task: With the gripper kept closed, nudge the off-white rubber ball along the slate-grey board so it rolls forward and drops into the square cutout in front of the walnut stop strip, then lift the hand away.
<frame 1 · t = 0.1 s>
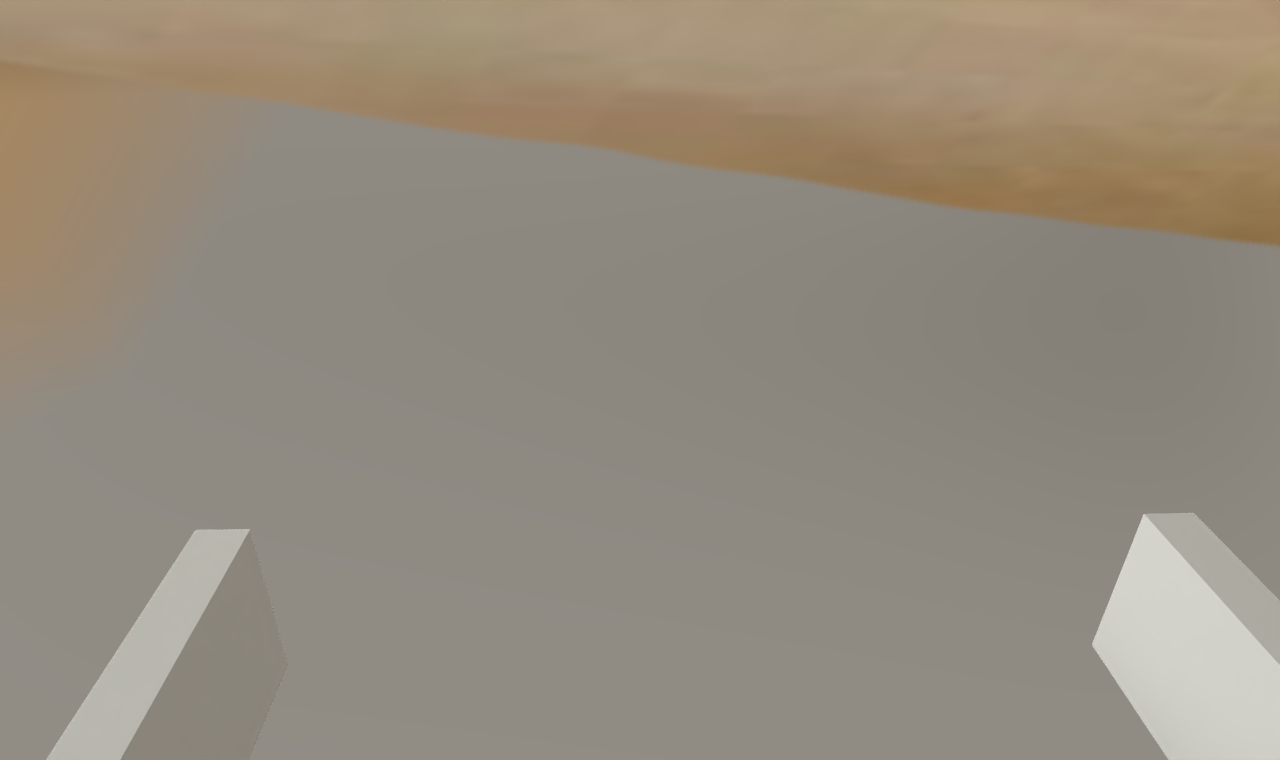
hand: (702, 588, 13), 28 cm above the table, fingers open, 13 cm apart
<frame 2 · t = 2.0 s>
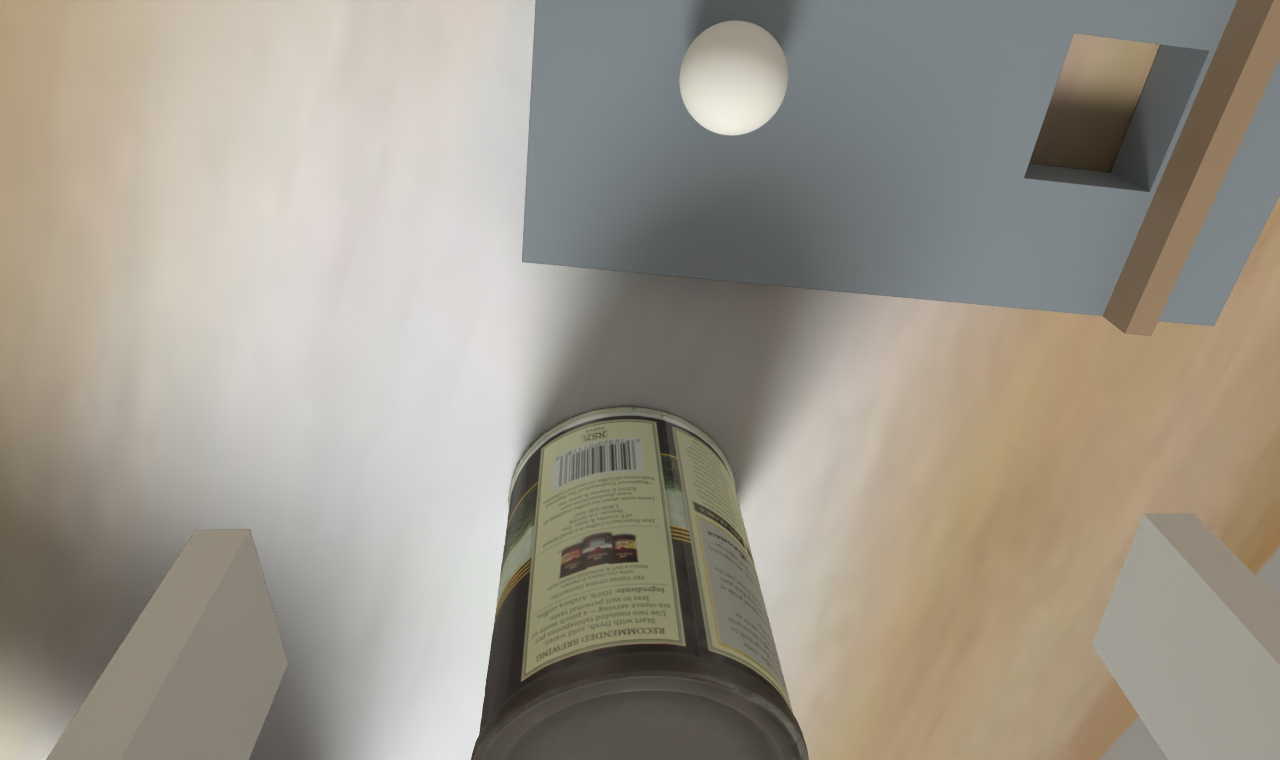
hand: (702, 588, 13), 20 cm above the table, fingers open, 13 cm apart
deck: (913, 82, 29), on the table
ball: (733, 79, 25), point 4 cm above the table, touching deck
coffee can: (624, 499, 37), on the table
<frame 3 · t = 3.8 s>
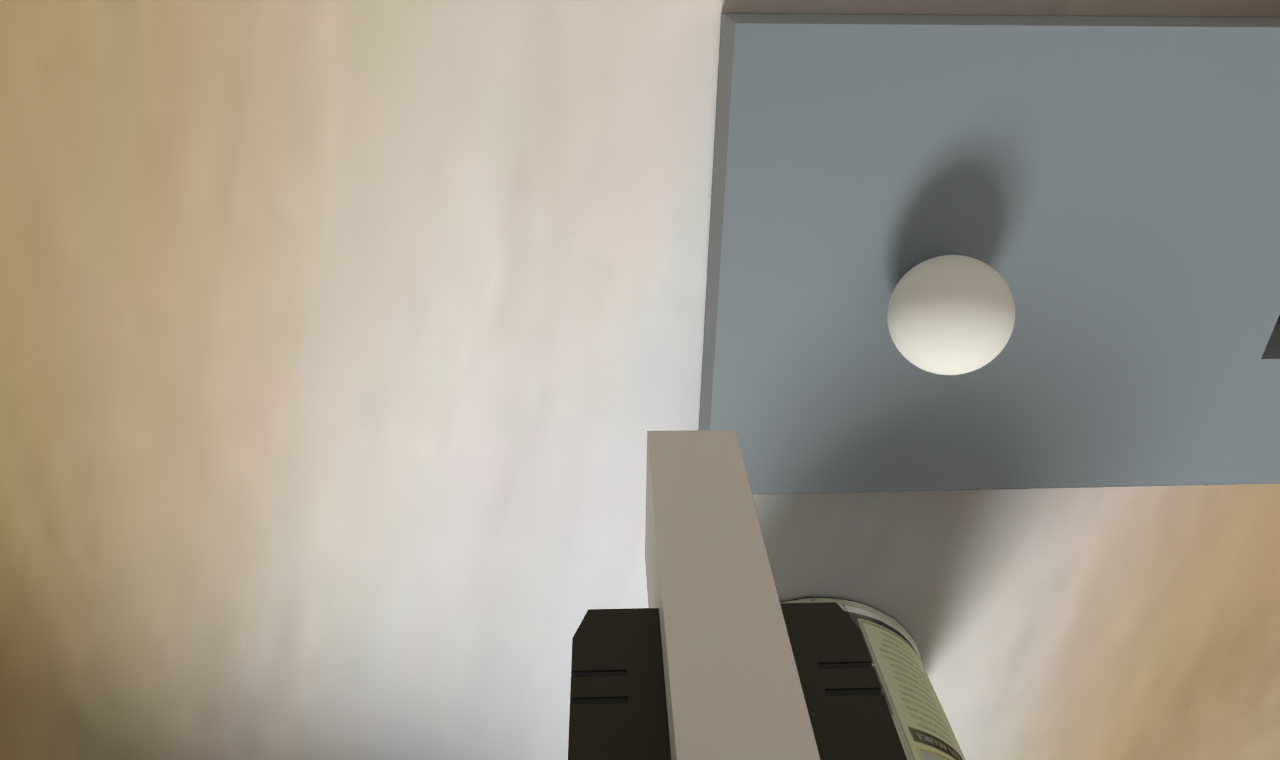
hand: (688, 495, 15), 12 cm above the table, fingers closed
deck: (1119, 258, 26), on the table
ball: (949, 315, 22), point 4 cm above the table, touching deck
coffee can: (801, 682, 35), on the table
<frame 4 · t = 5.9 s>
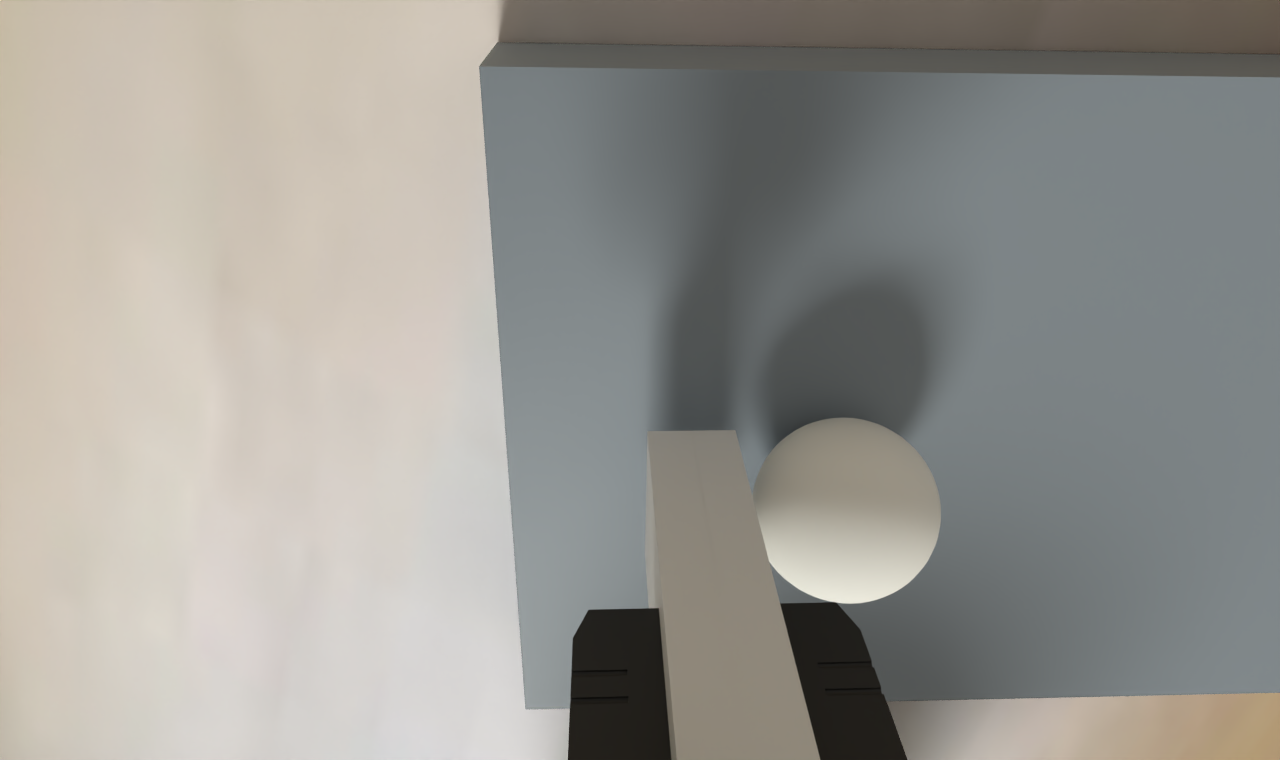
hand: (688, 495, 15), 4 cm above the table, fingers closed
deck: (1108, 389, 18), on the table
ball: (843, 508, 14), point 4 cm above the table, touching deck
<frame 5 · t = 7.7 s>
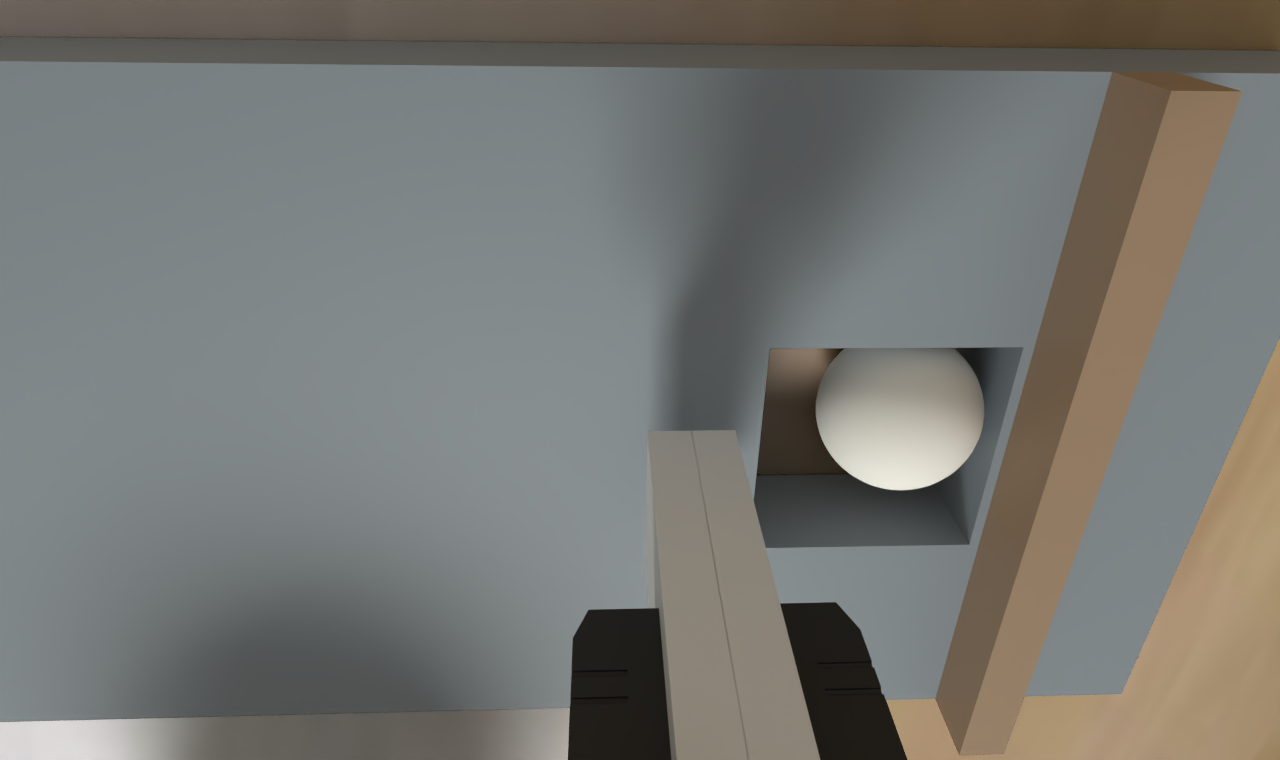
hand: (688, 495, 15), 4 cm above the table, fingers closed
deck: (568, 391, 18), on the table
ball: (897, 409, 17), point 2 cm above the table, tilted 156°
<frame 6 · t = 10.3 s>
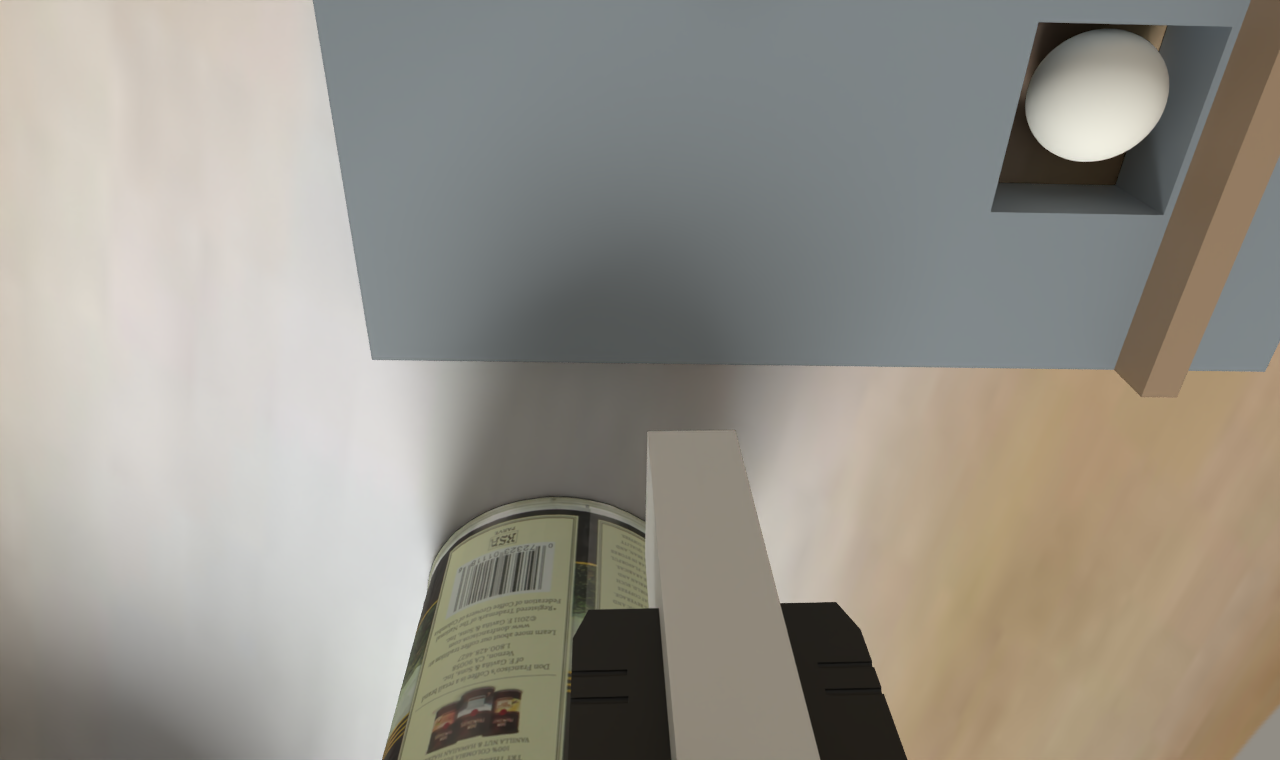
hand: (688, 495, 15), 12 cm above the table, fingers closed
deck: (841, 96, 22), on the table
ball: (1094, 96, 21), point 2 cm above the table, tilted 136°
coffee can: (563, 593, 32), on the table
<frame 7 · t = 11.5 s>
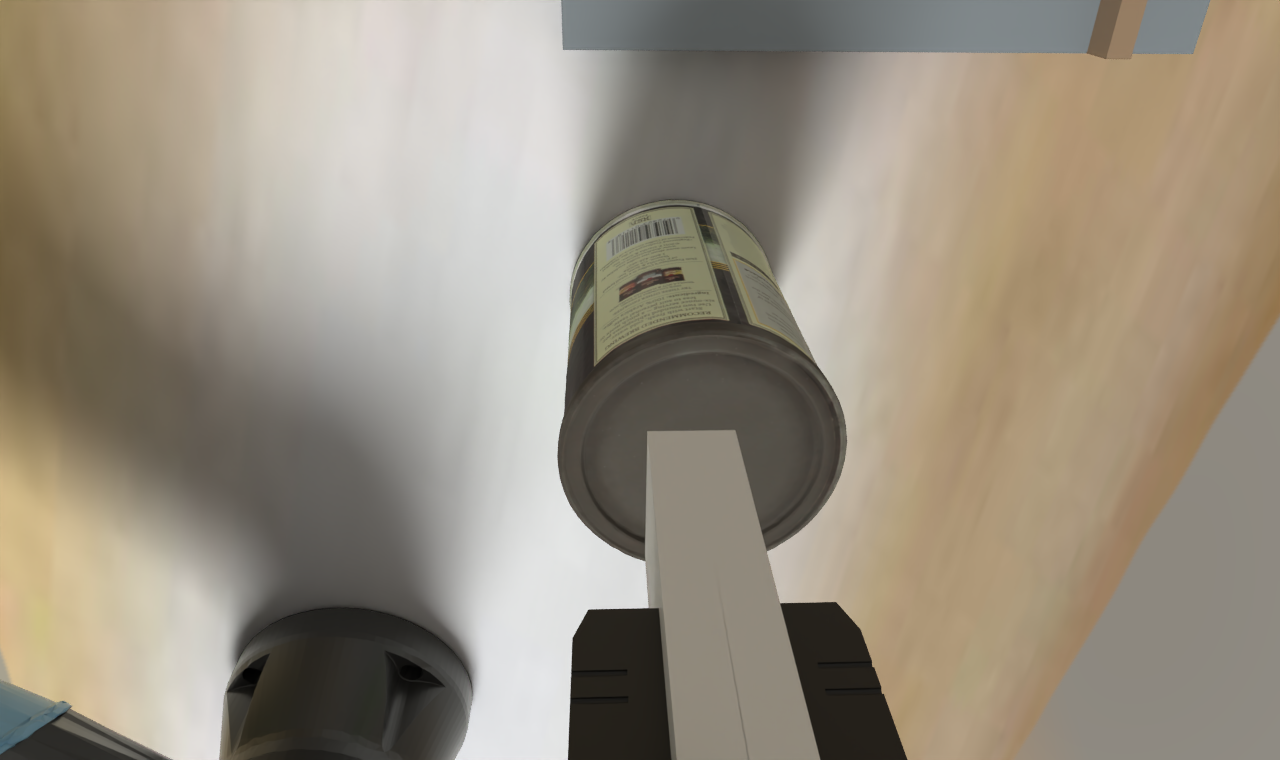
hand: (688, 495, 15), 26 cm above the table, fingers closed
coffee can: (672, 296, 42), on the table
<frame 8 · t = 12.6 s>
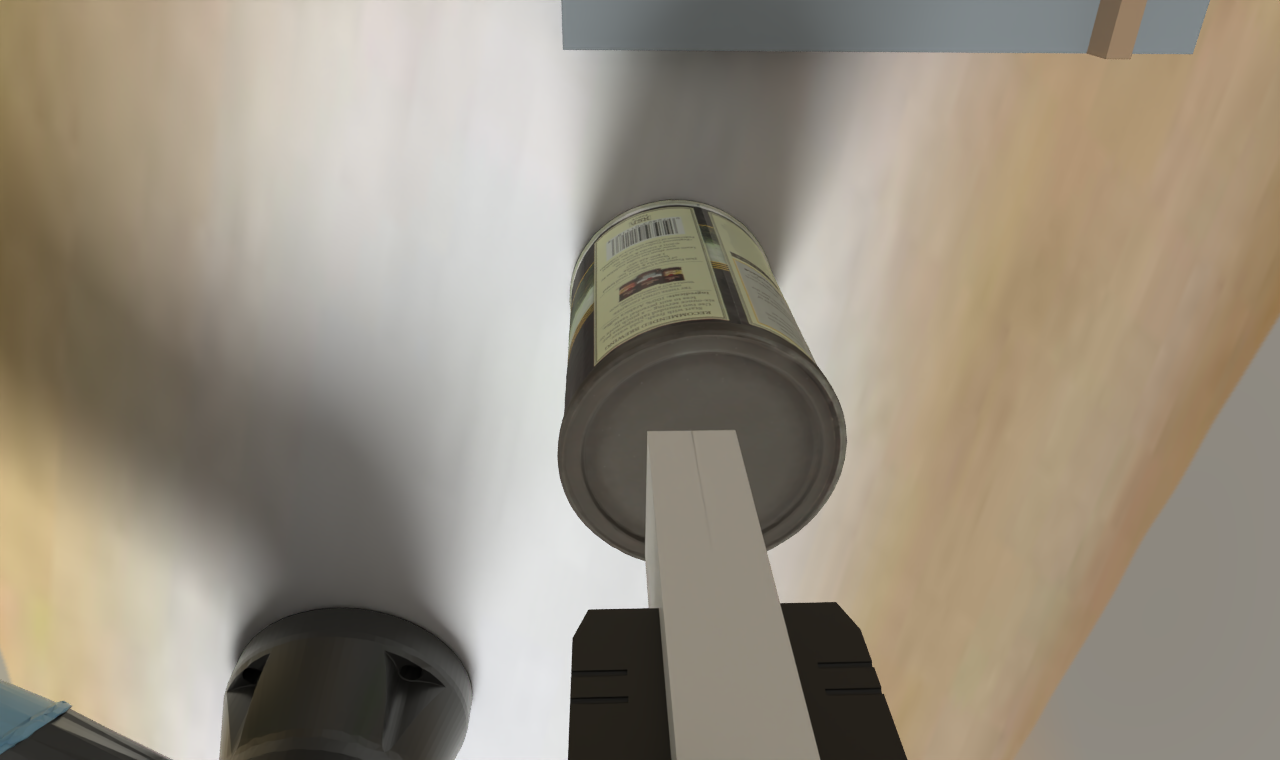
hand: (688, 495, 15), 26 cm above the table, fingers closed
coffee can: (672, 296, 42), on the table
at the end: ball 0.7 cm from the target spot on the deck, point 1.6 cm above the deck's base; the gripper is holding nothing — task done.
